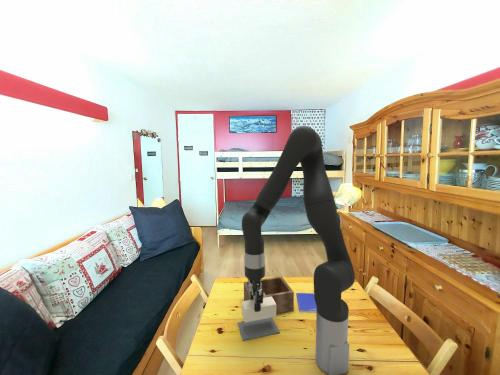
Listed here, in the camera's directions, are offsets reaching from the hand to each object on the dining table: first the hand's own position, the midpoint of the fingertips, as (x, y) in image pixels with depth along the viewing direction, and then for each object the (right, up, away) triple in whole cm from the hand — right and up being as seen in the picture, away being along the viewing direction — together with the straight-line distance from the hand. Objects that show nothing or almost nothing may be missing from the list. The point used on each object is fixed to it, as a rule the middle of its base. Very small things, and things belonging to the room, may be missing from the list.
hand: (255, 305), depth 86 cm
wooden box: (+5, -7, +15) cm, 17 cm away
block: (+1, -4, +1) cm, 4 cm away
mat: (+1, -9, +1) cm, 9 cm away
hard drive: (+23, -8, +16) cm, 29 cm away
